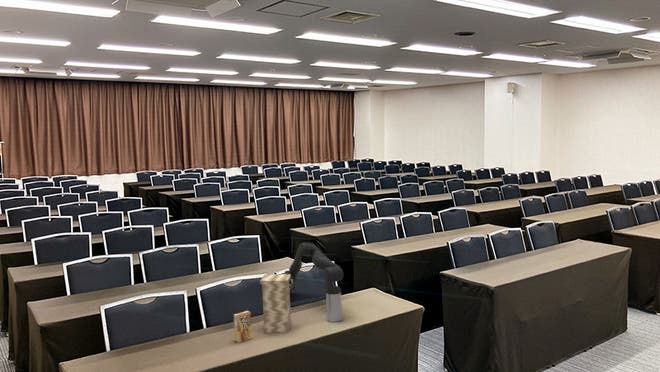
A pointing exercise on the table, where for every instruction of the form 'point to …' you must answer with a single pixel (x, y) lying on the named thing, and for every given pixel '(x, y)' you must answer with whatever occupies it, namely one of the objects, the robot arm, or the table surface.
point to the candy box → (242, 326)
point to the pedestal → (276, 303)
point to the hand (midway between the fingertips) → (284, 290)
